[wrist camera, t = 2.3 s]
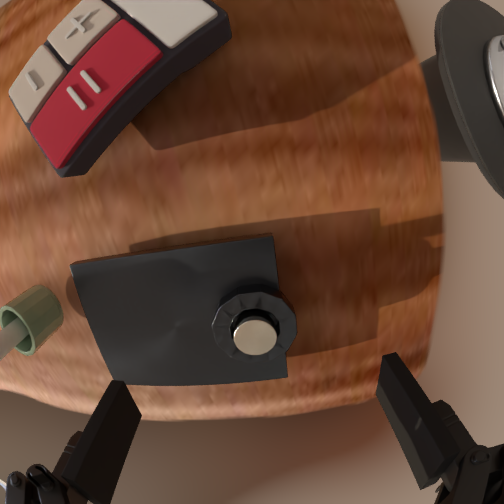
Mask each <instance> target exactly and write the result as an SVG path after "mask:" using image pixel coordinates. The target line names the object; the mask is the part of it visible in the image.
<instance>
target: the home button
mask: <svg viewBox="0 0 504 504" xmlns="http://www.w3.org/2000/svg"><path fill="white" fill-rule="evenodd" d="M276 340H277V334H276V328H275V323H274V321H273V319H272V318H271V317H270V316H269V315H268V314H266V313H264V312H261V311H249V312H246V313H244V314H242V315H241V316H240V317H239V318H238V319H237V321H236V323H235V327H234V343H235V345H236V346H237V348H238V349H239V350H240V351H242V352H244V353H246V354H249V355H261V354H264V353H266V352H268V351H270V350H271V349H272V348H273V347H274V345H275V343H276Z"/></svg>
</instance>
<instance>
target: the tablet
mask: <svg viewBox="0 0 504 504" xmlns="http://www.w3.org/2000/svg"><path fill="white" fill-rule="evenodd" d="M70 269H71V273H72V276H73V279H74V283H75V286H76V289H77V292H78V295H79V298H80V301H81V304H82V307H83V310H84V312H85V315H86V318H87V320H88V323H89V325H90V328H91V331H92V333H93V335H94V338H95V340H96V343H97V345H98V347H99V350H100V352H101V354H102V356H103V359H104V361H105V363H106V365H107V367H108V369H109V371H110V373H111V375H112V377H113V379H114V380H119V381H124V382H125V384H126V385H150V386H190V385H215V384H230V383H243V382H253V381H263V380H271V379H279V378H286V377H288V373H287V362H286V351H287V350H288V349H289V347H290V345H291V344H292V342H293V340H294V339H295V337H296V335H297V324H296V315H295V311H294V308H293V306H292V305H291V303H290V302H289V301H288V300H287V298H286V297H285V296H284V295H283V293H282V292H281V291H279V282H278V273H277V265H276V256H275V247H274V239H273V235H272V233H265V234H258V235H250V236H243V237H235V238H228V239H221V240H213V241H206V242H199V243H192V244H185V245H178V246H171V247H165V248H158V249H151V250H145V251H138V252H132V253H125V254H119V255H112V256H106V257H100V258H93V259H87V260H81V261H76V262H74V263H72V264H71V265H70ZM249 311H261V312H264V313H266V314H268V315H269V316H270V317H271V318H272V319H273V321H274V323H275V328H276V334H277V340H276V343H275V345H274V347H273V348H272V349H271V350H270V351H268V352H266V353H264V354H261V355H249V354H246V353H244V352H242V351H240V350H239V349H238V348H237V346H236V345H235V343H234V327H235V323H236V321H237V319H238V318H239V317H240V316H241V315H242V314H244V313H246V312H249Z"/></svg>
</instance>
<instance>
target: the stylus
mask: <svg viewBox="0 0 504 504" xmlns="http://www.w3.org/2000/svg"><path fill="white" fill-rule="evenodd" d="M28 334H29V332H28V330H27V327H26V326H25V325H24V323H23V322H22V320H21V319H20V318H19V317H17V318H16V319H15V320H13V321H12V322H11V323H10V324H8V325H7V326H6V327H5V328H3V329H2V330H1V331H0V361H1V360H2V359H3V358H4V357H5V356H6V355H7V354H8V353H9V352H10V351H11V350H12V349H13V348H14V347H15V346H16V345H17V344H19V343H20V342H21V341H22V340H23V339H24V338H25V337H26V336H27V335H28Z"/></svg>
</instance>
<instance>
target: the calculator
mask: <svg viewBox="0 0 504 504" xmlns="http://www.w3.org/2000/svg"><path fill="white" fill-rule="evenodd" d="M231 38H232V34H231V29H230V24H229V19H228V14H227V13H226V12H225V11H224V10H223V9H222V8H220V7H219V6H218V5H216V4H215V3H214V2H212V1H211V0H82V1H81V2H80V3H79V4H78V5H77V6H76V7H75V8H74V9H73V10H72V11H71V12H70V13H69V14H68V15H67V16H66V17H65V18H64V19H63V20H62V21H61V22H60V23H59V25H58V26H57V27H56V28H55V29H54V30H53V31H52V32H51V34H50V35H49V36H48V38H47V41H46V42H45V43H44V44H43V45H41V46H40V47H39V48H38V49H37V51H36V52H35V53H34V54H33V56H32V57H31V58H30V60H29V61H28V63H27V64H26V65H25V67H24V68H23V70H22V71H21V72H20V74H19V75H18V77H17V78H16V80H15V81H14V83H13V85H12V86H11V88H10V90H9V97H10V99H11V101H12V103H13V105H14V106H15V108H16V110H17V112H18V113H19V115H20V117H21V119H22V120H23V122H24V124H25V125H26V127H27V129H28V130H29V132H30V133H31V135H32V137H33V138H34V140H35V141H36V143H37V144H38V146H39V148H40V149H41V151H42V152H43V154H44V155H45V157H46V158H47V159H48V161H49V162H50V164H51V165H52V167H53V168H54V170H55V171H56V172H57V174H58V175H59V176H60V177H62V178H63V177H71V176H79V175H84V174H86V173H87V172H88V171H89V169H90V168H91V167H92V165H93V164H94V163H95V162H96V160H97V159H98V158H99V157H100V155H101V154H102V153H103V152H104V151H105V149H106V148H107V147H108V146H109V145H110V144H111V142H112V141H113V140H114V139H115V138H116V137H117V136H118V134H119V133H120V132H121V131H122V130H123V129H124V128H125V127H126V126H127V125H128V124H129V122H130V121H131V120H132V119H133V118H134V117H135V116H136V115H137V114H138V113H139V112H140V111H141V110H142V109H143V108H144V107H145V106H146V105H147V104H148V103H149V102H150V101H151V100H152V99H153V98H154V97H155V96H156V95H158V94H159V93H160V92H161V91H162V90H163V89H164V88H165V87H166V86H167V85H168V84H170V83H171V82H172V81H173V80H174V79H175V78H176V77H178V76H179V75H180V74H181V73H183V72H185V71H187V70H189V69H191V68H193V67H195V66H196V65H197V64H198V63H200V62H201V61H202V60H204V59H205V58H206V57H207V56H209V55H210V54H211V53H213V52H214V51H215V50H217V49H218V48H220V47H221V46H222V45H224V44H225V43H227V42H228V41H229V40H230V39H231Z"/></svg>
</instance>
